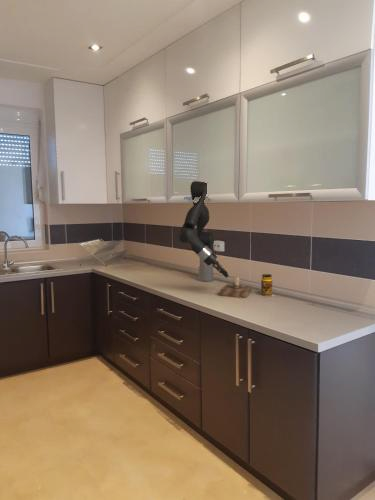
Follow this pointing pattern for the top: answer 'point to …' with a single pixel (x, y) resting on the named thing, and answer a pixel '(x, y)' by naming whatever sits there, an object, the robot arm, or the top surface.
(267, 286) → the condiment
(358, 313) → the top surface
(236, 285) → the peg
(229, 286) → the clear brown food package
